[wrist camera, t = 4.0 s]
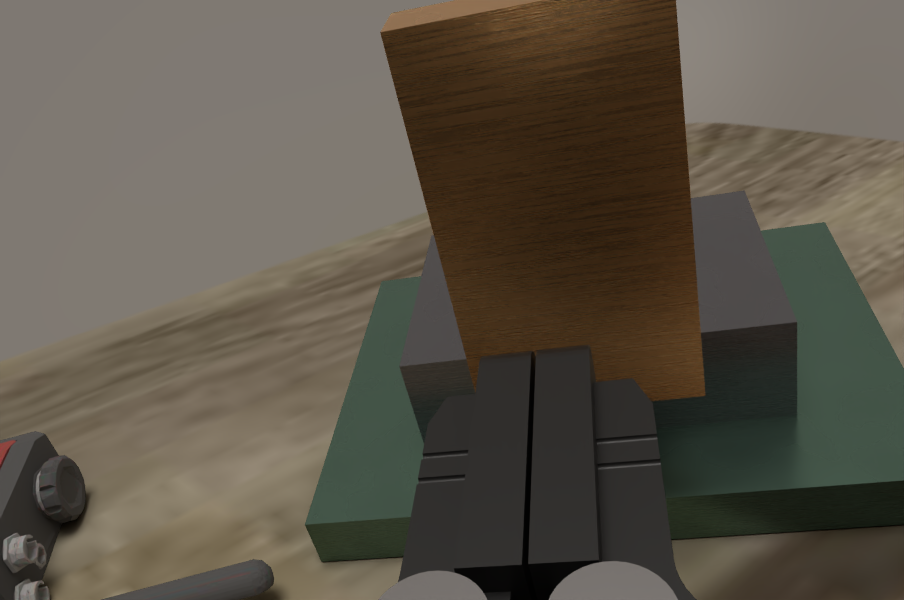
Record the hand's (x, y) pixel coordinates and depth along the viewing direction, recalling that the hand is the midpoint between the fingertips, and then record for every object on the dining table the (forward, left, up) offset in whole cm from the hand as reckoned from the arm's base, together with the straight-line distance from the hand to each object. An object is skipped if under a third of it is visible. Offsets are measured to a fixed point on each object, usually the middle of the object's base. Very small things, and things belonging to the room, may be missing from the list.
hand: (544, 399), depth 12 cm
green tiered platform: (0, +12, -10) cm, 15 cm away
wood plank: (0, +10, -5) cm, 11 cm away
